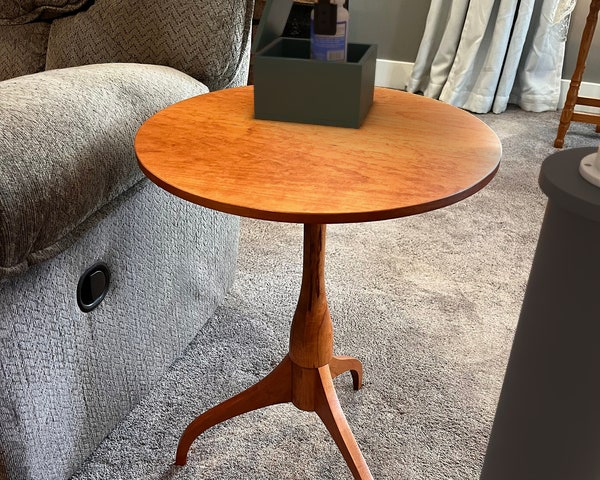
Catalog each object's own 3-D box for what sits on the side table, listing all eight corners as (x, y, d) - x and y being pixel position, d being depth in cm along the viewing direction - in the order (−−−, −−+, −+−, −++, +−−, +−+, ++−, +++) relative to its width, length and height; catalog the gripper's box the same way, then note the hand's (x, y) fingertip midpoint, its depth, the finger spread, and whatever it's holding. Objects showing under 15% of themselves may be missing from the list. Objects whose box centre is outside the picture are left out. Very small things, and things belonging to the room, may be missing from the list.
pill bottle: (315, 58, 98) (317, -12, 92) (350, 61, 96) (354, -10, 91) (305, 67, 93) (306, -7, 88) (341, 70, 92) (344, -5, 87)
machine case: (373, 101, 103) (377, 43, 98) (358, 128, 92) (362, 64, 87) (279, 93, 106) (279, 36, 101) (254, 118, 95) (252, 56, 90)
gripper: (350, -120, 75) (343, 44, 85) (374, -121, 89) (365, 21, 99) (288, -121, 76) (288, 41, 86) (320, -121, 90) (317, 18, 100)
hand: (329, 29), depth 92 cm, fingers closed on pill bottle, 5 cm apart
